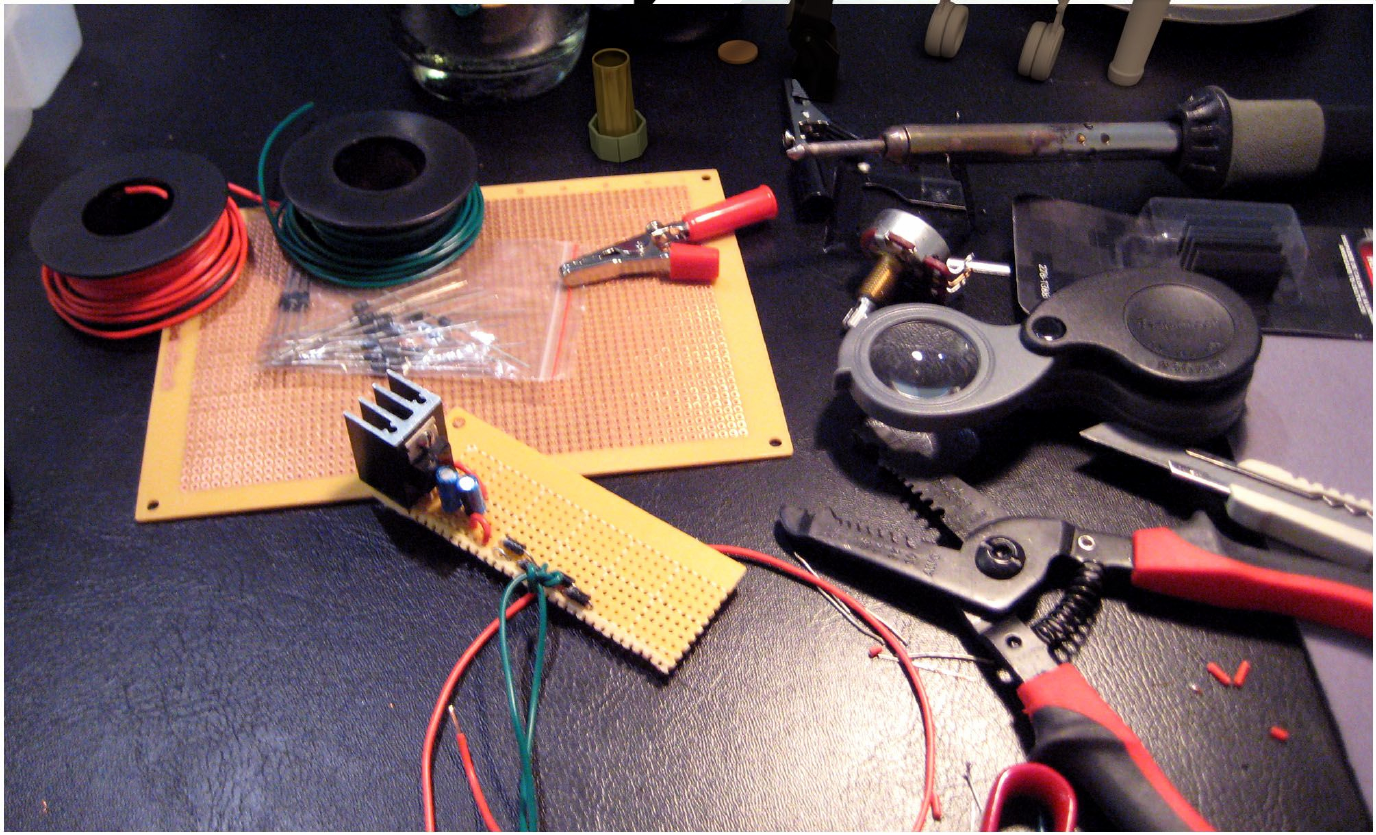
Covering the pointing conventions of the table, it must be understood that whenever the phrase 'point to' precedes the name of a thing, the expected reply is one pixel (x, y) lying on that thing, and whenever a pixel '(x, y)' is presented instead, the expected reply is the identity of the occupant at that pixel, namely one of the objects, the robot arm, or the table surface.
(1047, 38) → the headphones
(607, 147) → the ring
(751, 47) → the coaster
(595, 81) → the vase
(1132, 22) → the bottle
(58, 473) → the table surface
